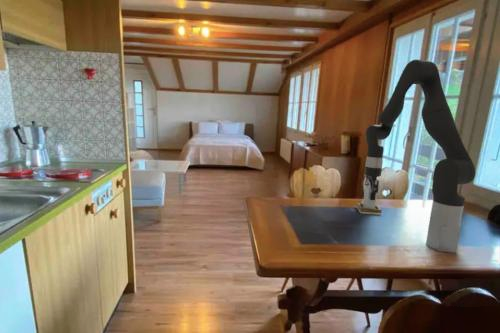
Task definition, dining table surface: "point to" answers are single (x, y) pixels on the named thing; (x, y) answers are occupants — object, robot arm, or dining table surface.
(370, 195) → the robot arm
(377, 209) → the open birch box
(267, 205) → the dining table surface
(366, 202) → the skincare box
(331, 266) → the dining table surface
